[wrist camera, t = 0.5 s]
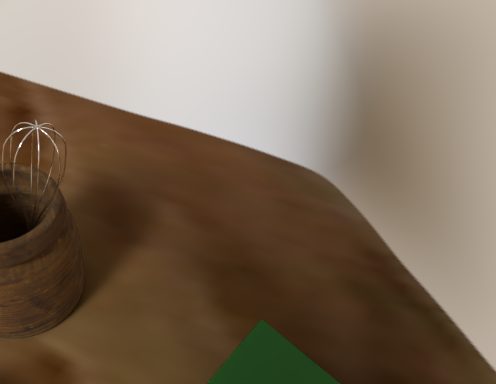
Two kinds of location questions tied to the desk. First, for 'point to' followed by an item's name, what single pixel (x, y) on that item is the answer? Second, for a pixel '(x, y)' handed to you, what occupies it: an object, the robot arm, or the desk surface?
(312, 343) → the desk surface
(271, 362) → the clamp
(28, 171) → the utensil holder
